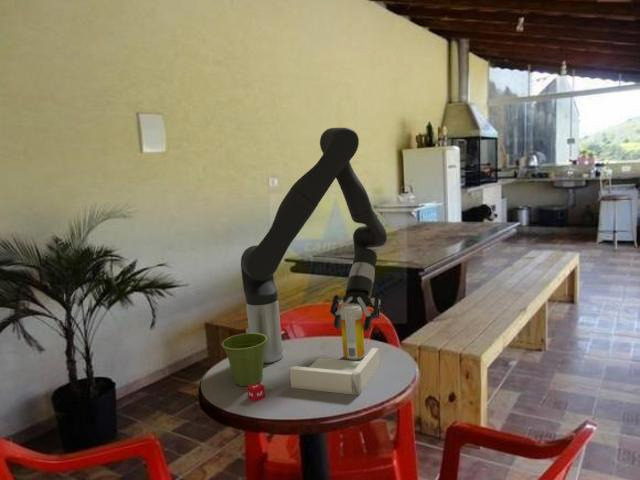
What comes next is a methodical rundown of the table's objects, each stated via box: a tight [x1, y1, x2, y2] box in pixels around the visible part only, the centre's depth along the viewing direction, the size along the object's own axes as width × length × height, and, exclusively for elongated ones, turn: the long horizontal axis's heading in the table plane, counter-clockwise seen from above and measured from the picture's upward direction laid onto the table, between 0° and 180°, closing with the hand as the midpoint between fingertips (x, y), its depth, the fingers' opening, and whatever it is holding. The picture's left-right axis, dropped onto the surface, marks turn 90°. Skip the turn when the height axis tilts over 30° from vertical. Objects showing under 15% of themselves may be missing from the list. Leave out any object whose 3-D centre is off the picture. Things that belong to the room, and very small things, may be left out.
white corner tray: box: [289, 347, 381, 396], centre depth 131 cm, size 18×18×5 cm
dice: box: [246, 382, 266, 402], centre depth 122 cm, size 3×3×3 cm
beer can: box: [340, 304, 366, 361], centre depth 143 cm, size 6×6×15 cm
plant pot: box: [221, 332, 267, 387], centre depth 132 cm, size 12×12×11 cm
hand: (351, 329), depth 142 cm, fingers open, 8 cm apart
